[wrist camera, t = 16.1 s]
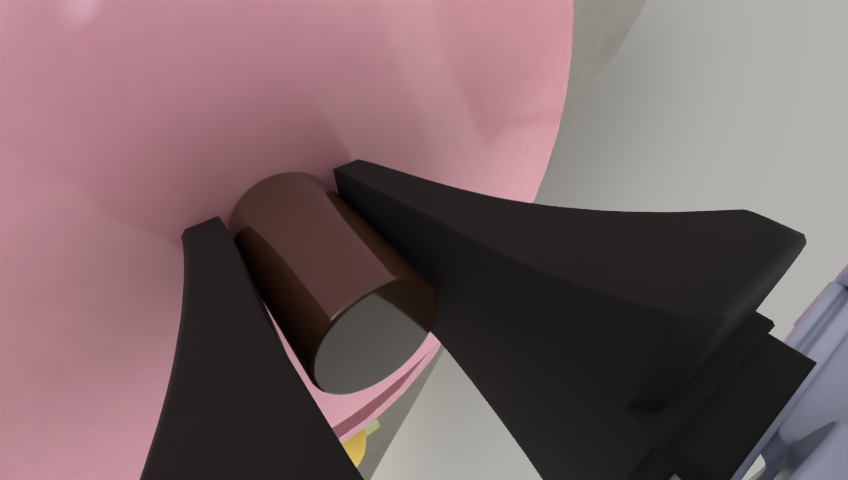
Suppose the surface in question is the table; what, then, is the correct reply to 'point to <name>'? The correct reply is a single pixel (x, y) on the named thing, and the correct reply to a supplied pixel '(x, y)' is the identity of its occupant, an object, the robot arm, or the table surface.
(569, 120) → the table surface
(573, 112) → the table surface
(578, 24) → the table surface
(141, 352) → the lid
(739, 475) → the robot arm
